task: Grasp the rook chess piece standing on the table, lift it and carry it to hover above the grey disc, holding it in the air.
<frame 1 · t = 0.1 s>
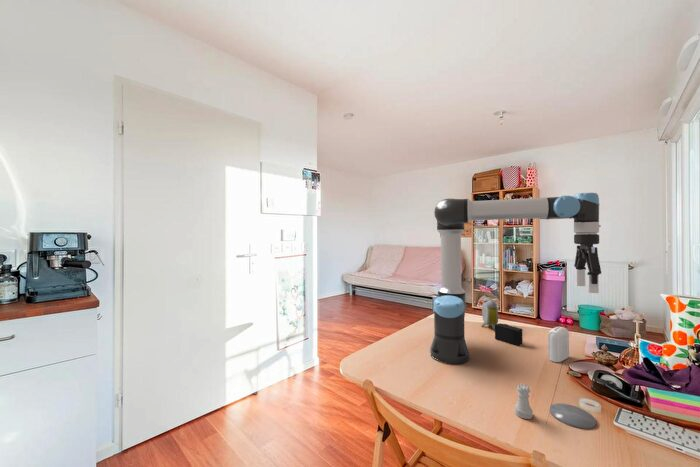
hand: (586, 289, 111), 28 cm above the table, fingers open, 13 cm apart
rook chess piece: (523, 415, 81), on the table
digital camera: (509, 342, 133), on the table
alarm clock: (488, 327, 153), on the table
white rounded block: (558, 359, 115), on the table
grey disc: (572, 416, 80), on the table
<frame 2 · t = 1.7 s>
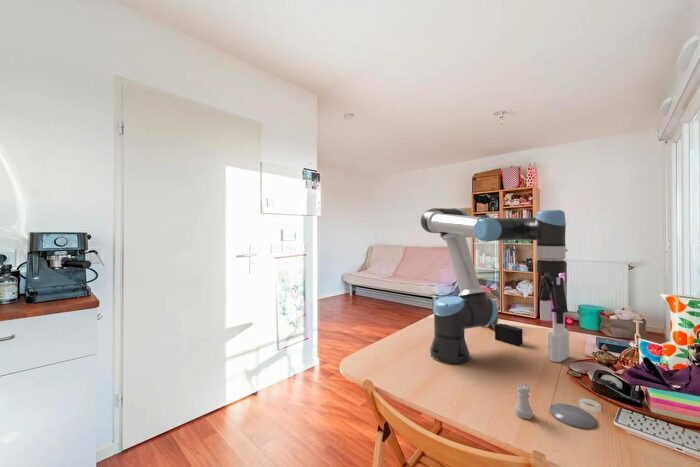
hand: (551, 326, 92), 20 cm above the table, fingers open, 13 cm apart
nothing on the table moved.
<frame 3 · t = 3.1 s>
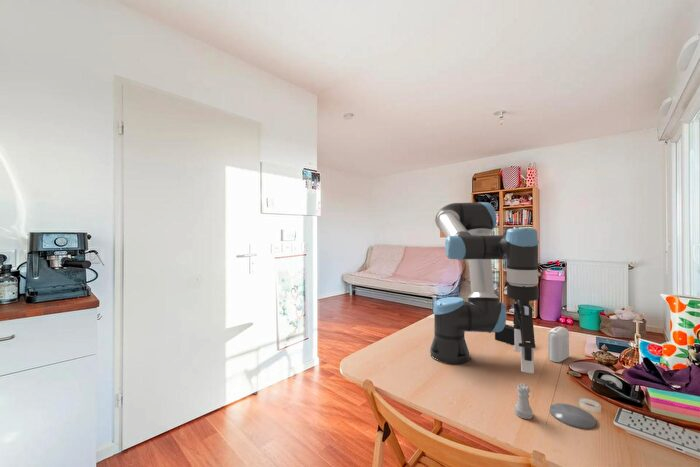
hand: (523, 361, 80), 15 cm above the table, fingers open, 13 cm apart
nothing on the table moved.
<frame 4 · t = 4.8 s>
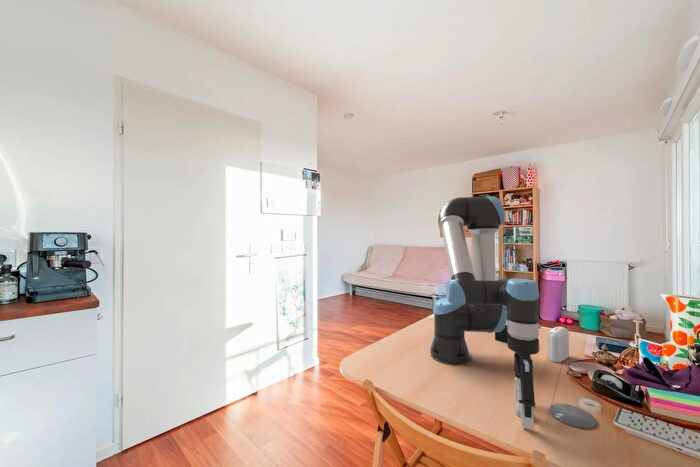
hand: (523, 413, 81), 0 cm above the table, fingers open, 12 cm apart
nothing on the table moved.
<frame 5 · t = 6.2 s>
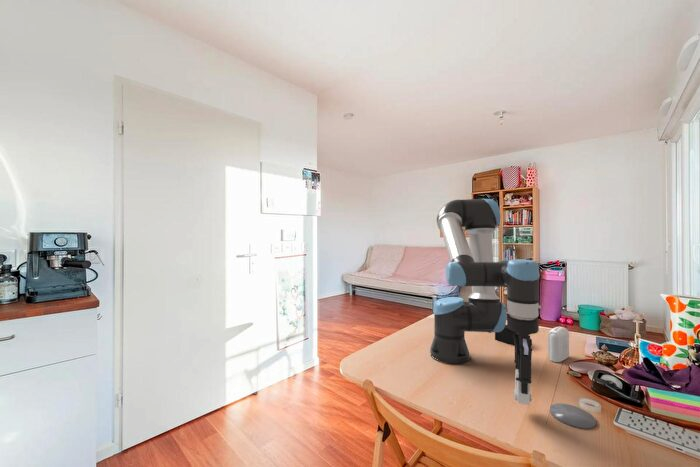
hand: (522, 397, 81), 4 cm above the table, fingers closed on rook chess piece, 4 cm apart
rook chess piece: (522, 399, 81), point 4 cm above the table, touching gripper
everything else where it was.
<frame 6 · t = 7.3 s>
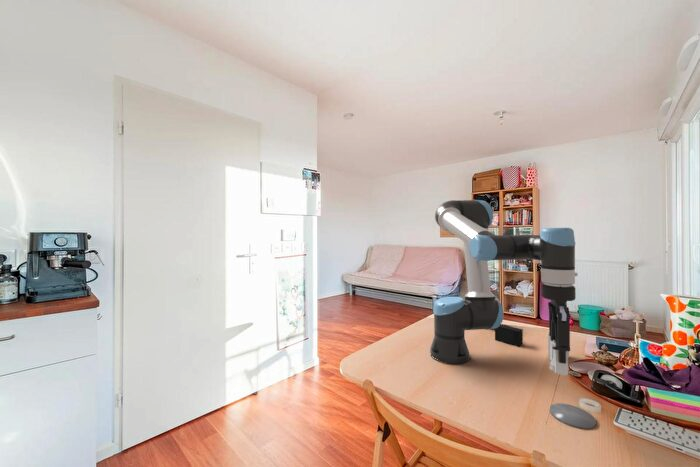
hand: (559, 369, 79), 13 cm above the table, fingers closed on rook chess piece, 4 cm apart
rook chess piece: (559, 371, 79), point 12 cm above the table, touching gripper
everything else where it was.
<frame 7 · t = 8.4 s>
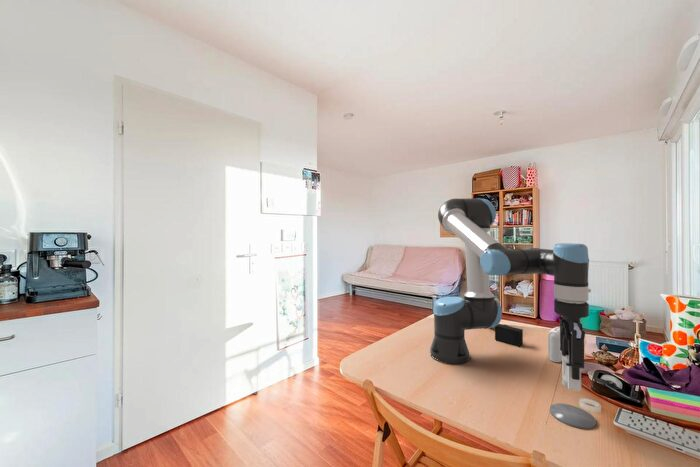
hand: (571, 384, 80), 9 cm above the table, fingers closed on rook chess piece, 4 cm apart
rook chess piece: (571, 387, 80), point 8 cm above the table, touching gripper
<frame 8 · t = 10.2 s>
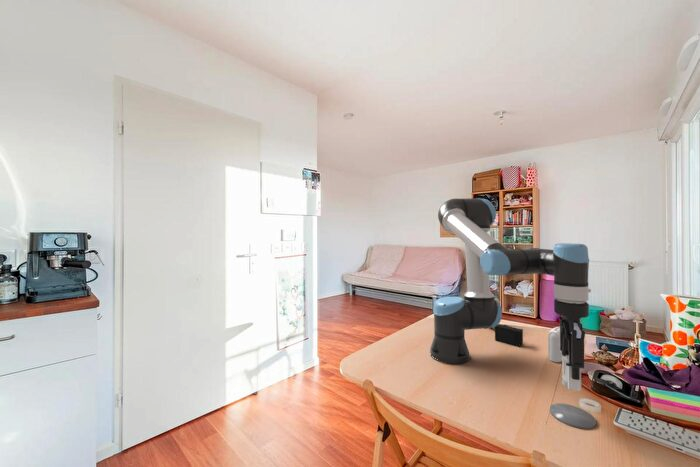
hand: (571, 384, 80), 9 cm above the table, fingers closed on rook chess piece, 4 cm apart
rook chess piece: (571, 387, 80), point 8 cm above the table, touching gripper
at the end: the gripper is holding rook chess piece; rook chess piece point 8.1 cm above the table; rook chess piece 0.1 cm from the grey disc (horizontally) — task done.
